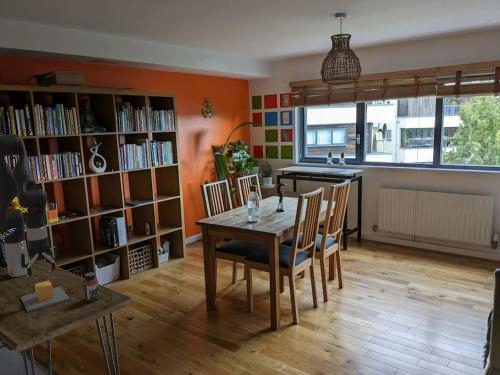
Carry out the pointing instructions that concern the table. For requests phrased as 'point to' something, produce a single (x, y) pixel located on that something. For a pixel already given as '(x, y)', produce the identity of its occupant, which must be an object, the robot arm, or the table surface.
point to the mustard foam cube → (44, 290)
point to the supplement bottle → (91, 287)
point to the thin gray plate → (33, 303)
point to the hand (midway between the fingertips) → (41, 273)
